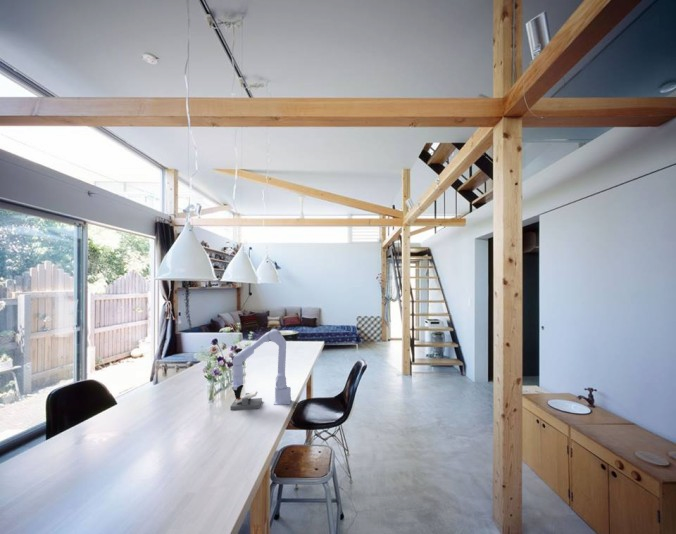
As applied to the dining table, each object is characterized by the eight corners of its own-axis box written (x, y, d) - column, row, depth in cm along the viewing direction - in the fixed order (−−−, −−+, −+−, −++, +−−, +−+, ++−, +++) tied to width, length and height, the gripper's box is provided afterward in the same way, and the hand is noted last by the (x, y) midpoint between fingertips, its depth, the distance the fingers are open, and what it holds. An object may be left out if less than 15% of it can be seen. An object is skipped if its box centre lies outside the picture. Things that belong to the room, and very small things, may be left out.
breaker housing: (261, 401, 195) (261, 392, 195) (258, 408, 184) (258, 398, 184) (235, 402, 194) (235, 393, 194) (230, 409, 183) (230, 400, 183)
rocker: (257, 392, 193) (256, 390, 193) (255, 396, 187) (254, 393, 187) (238, 399, 192) (237, 397, 192) (235, 403, 186) (235, 401, 186)
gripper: (234, 371, 196) (234, 394, 196) (227, 379, 182) (227, 403, 181) (245, 371, 197) (245, 393, 196) (240, 378, 182) (240, 402, 182)
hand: (237, 398), depth 189 cm, fingers closed, pressing on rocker
